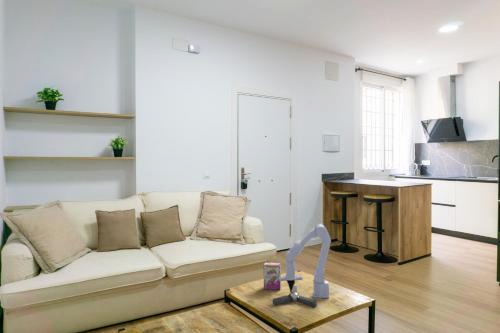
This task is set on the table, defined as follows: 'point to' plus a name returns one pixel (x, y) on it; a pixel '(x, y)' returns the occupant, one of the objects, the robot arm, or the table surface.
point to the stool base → (294, 300)
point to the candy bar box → (272, 276)
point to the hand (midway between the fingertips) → (290, 291)
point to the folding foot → (294, 289)
